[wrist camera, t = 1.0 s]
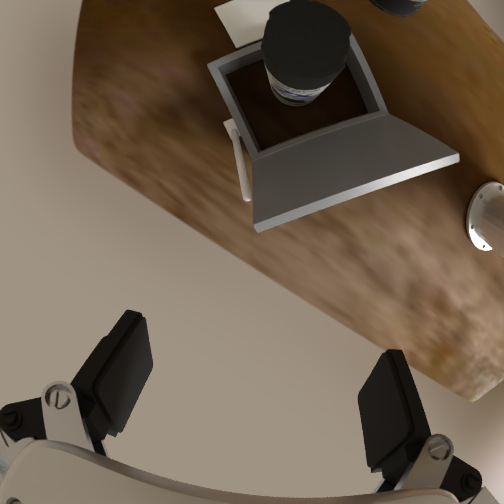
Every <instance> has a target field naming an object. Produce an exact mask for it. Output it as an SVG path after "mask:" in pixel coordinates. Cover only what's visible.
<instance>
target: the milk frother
mask: <svg viewBox="0 0 504 504" xmlns="http://www.w3.org/2000/svg"><path fill="white" fill-rule="evenodd" d="M371 1H372V2H373V3H374V4H375V5H376V6H378V7H379V8H380V9H382V10H384V11H386V12H388V13H390V14H392V15H396V16H402V17H405V16H410V15H413V14H414V13H415V12H416V11H417V9H419V8H420V7H421V5H422V4H424V3H425V2H427V1H428V0H371Z"/></svg>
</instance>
